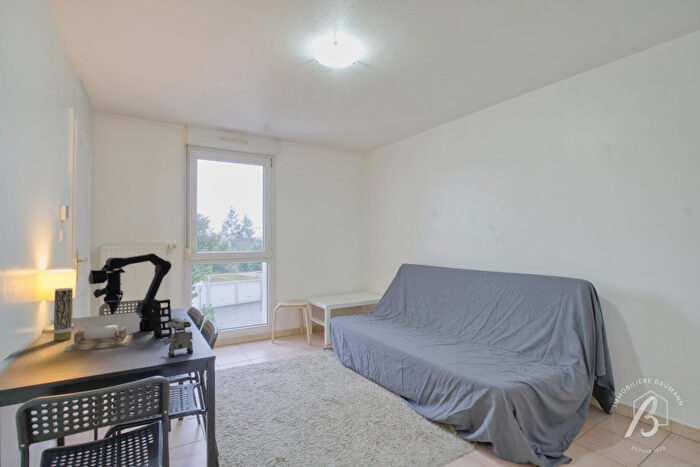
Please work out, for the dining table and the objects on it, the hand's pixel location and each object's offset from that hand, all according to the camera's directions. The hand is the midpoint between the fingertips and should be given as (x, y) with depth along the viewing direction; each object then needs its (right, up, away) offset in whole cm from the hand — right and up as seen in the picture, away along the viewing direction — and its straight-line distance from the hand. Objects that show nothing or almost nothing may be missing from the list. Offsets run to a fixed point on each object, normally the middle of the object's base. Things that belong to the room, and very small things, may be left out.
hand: (114, 312), depth 182 cm
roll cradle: (+3, -12, -14) cm, 19 cm away
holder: (+25, -13, -1) cm, 28 cm away
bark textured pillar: (-21, -12, -7) cm, 25 cm away
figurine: (+46, -12, -27) cm, 55 cm away
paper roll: (+3, -10, -14) cm, 17 cm away
